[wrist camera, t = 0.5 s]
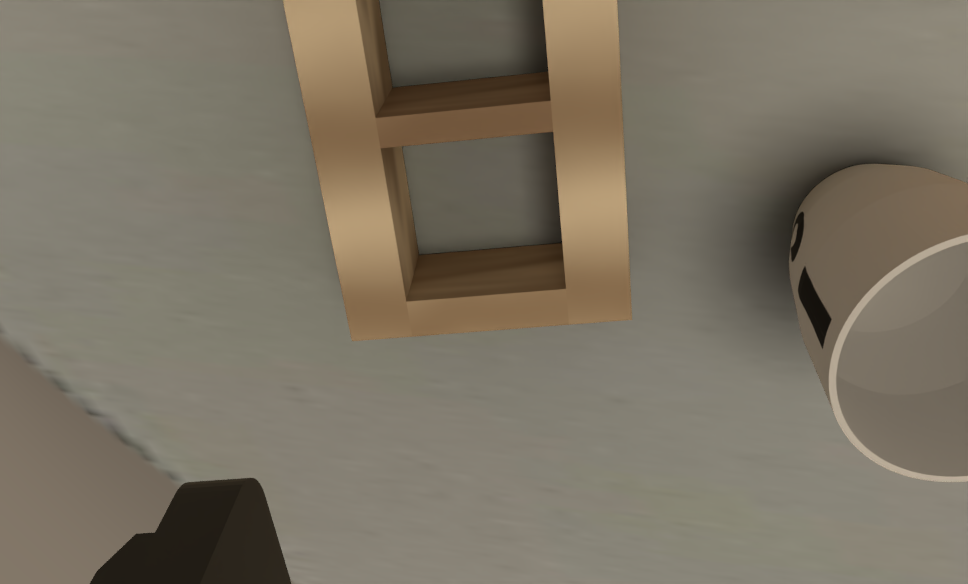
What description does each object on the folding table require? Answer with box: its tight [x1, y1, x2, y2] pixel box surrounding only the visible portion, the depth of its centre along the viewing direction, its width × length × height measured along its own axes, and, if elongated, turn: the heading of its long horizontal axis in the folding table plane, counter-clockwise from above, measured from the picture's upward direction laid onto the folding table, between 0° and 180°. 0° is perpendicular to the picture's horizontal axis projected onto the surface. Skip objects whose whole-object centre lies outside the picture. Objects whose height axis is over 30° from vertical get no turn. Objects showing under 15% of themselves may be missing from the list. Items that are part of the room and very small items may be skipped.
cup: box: [789, 164, 968, 482], centre depth 30 cm, size 8×8×10 cm
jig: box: [283, 0, 632, 341], centre depth 31 cm, size 15×10×4 cm, turn 7°
